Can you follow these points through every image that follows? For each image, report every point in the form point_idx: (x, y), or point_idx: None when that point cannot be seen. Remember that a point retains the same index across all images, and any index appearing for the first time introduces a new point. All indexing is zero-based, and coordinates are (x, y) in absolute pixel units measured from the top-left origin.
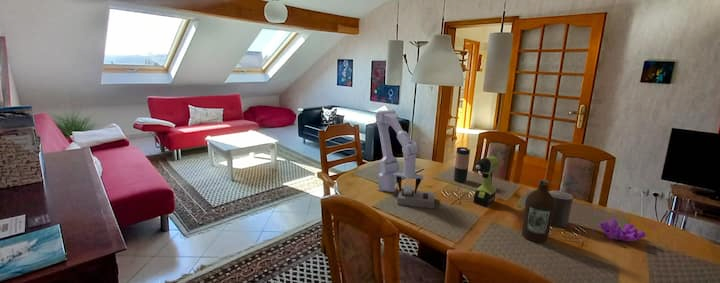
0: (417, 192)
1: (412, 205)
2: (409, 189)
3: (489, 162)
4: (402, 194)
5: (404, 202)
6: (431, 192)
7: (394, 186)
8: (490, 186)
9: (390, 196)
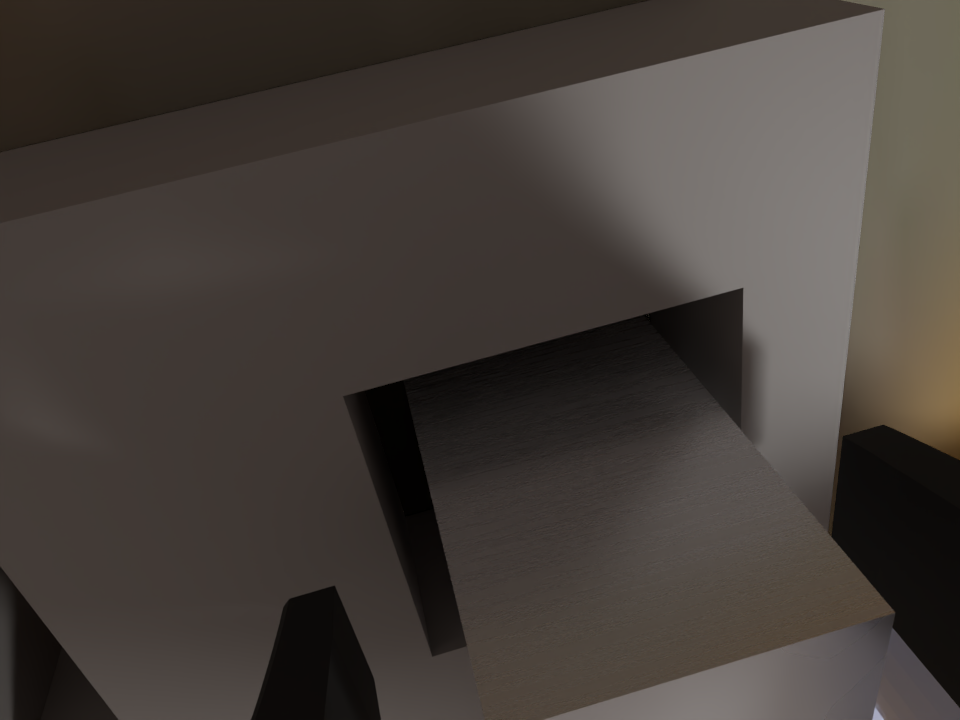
0: None
1: (246, 97)
2: (573, 604)
3: None
4: None
5: (540, 47)
6: None
7: (906, 681)
8: None
9: (924, 348)
